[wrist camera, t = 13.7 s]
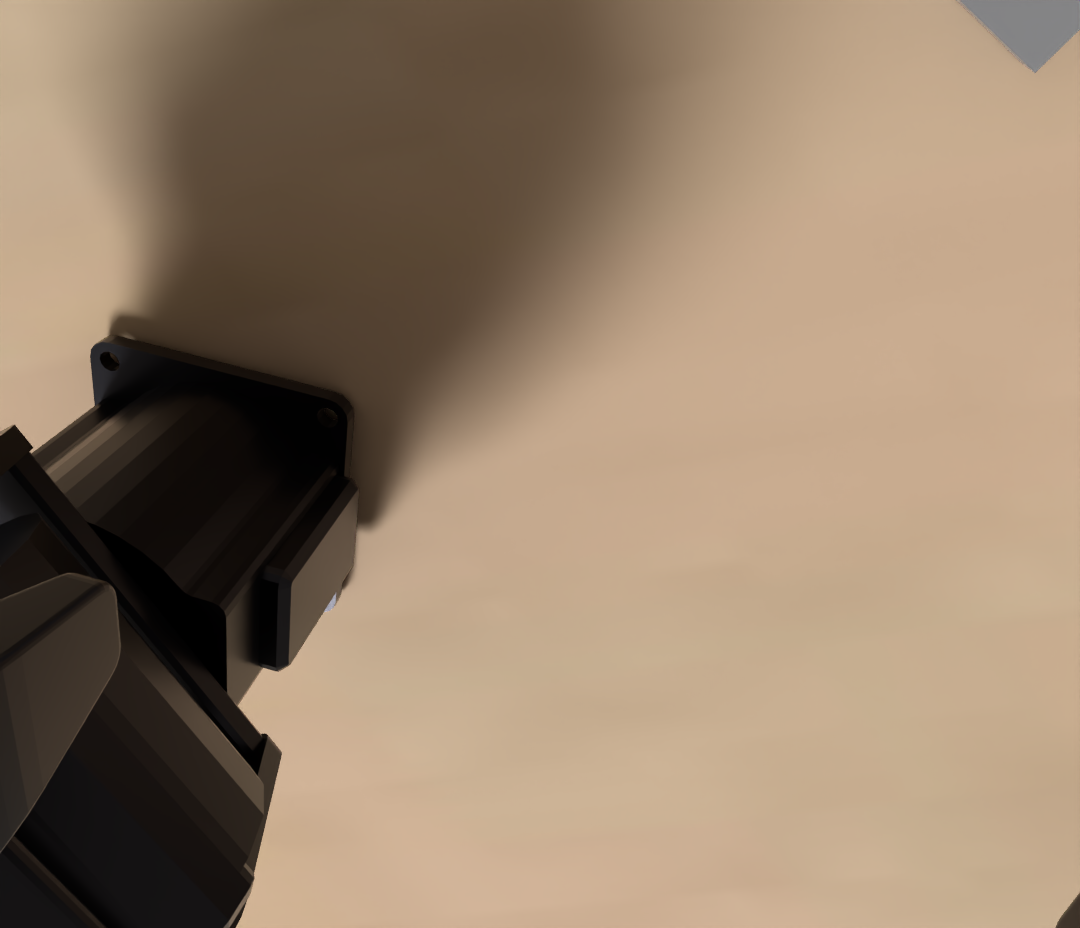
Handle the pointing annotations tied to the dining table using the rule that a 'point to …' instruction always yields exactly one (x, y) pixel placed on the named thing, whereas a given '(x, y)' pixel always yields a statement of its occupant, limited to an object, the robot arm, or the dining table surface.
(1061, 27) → the carrier plate
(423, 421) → the dining table surface
